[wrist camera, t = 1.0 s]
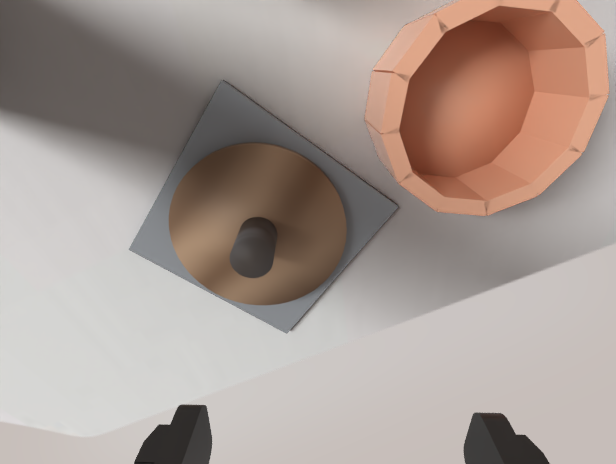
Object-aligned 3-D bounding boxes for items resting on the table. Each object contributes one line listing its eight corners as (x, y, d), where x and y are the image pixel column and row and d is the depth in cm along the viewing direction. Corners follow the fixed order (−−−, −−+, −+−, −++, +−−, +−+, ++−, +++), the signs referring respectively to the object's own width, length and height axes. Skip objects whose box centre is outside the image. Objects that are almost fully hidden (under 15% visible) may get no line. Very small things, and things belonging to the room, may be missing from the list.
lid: (144, 247, 29) (114, 281, 24) (227, 102, 24) (209, 110, 19) (284, 322, 32) (280, 363, 28) (380, 209, 27) (395, 237, 23)
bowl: (333, 124, 25) (340, 140, 20) (452, -44, 21) (504, -81, 15) (449, 212, 28) (484, 247, 23) (574, 81, 24) (653, 86, 18)
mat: (131, 246, 29) (128, 249, 29) (223, 79, 24) (221, 80, 23) (287, 330, 33) (286, 333, 33) (397, 204, 28) (398, 207, 27)
